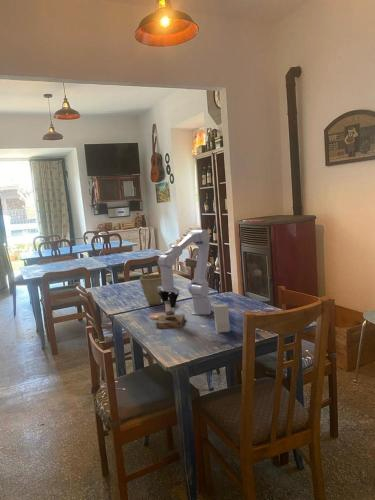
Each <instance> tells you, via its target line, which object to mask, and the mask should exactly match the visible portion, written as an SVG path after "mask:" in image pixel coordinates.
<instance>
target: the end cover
mask: <svg viewBox="0 0 375 500" xmlns="http://www.w3.org/2000/svg"><path fill="white" fill-rule="evenodd" d="M164 303H165V306H164V308H165V310H164V311H165V314H166V315H168V316H171V315H176V314H175V313H176V312H175V307H173V308H171V305H170V300H169V298H168V299H166V300H164Z"/></svg>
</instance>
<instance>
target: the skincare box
mask: <svg viewBox="0 0 375 500" xmlns="http://www.w3.org/2000/svg"><path fill="white" fill-rule="evenodd" d="M213 312H214V314H213V315H214V326H215V331H216V333H217V334H219V333H227V332H231V330H230V329H231V328H230V327H231V326H230V316H229V306H228V304H227V303H221V304H213Z"/></svg>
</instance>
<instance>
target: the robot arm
mask: <svg viewBox="0 0 375 500" xmlns="http://www.w3.org/2000/svg"><path fill="white" fill-rule="evenodd" d="M210 238H211V234H210V232H209V230H207V229H194V228H192V229H191V230H190V231H188V232H187V235H186V236H185V237H184V238H183V239H182V240H181V241H180V242H179V243H178V244H174V245H171V246H170V247H171V248H169V249H168V250H167V251H165V252H164V254H161V255H159V256H158V259H157V261H156V262H157V265H158V266H159V269H160V274H161V279H162V286H158V290H159V291H160V290H161V291H160V292H159V295H160V297H161V298H162V299H161V302H162V303H163V306H164V307H165V303H164V300H166V299H169V300H170V305H171V308H173V307H174V308H176V305H177V301H178V297H179V295H180V293H181V292H180V289H178V288H176V287H175V285H174V284H175V282H174V273H173V271H174V270H173V266H174V265H175V261H177V259H178V258H179V257H180V256H181V255H183V251H184V250H185V248H187V247H189V245H191V244H192V243H193V244H195V245H196V246H197V248H198V251H197V252H198V253H197V258H196V259H197V260H196V267H195V274H194V278H192V280H191V281H190V285H189V287H188V292H189V293H190V295H191V297H192V308H193V311H192V313H191V315H192V316H194V315H198V316H199V315H200V316H201V315H211V312H212V301H211V300H212V299H211V296H210V295H209V293H210V288H209V281H208V280H207V279H206V275H207V269H208V268H207V267H208V259H209V252H210V240H211V239H210Z"/></svg>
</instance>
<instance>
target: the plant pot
mask: <svg viewBox="0 0 375 500" xmlns="http://www.w3.org/2000/svg"><path fill="white" fill-rule="evenodd" d="M139 281H140V285H141V289H142V291H143V294H144V297H145V299H146V301H147V303H148V305H157V304H160V303H161V302H162V298H161V297H160V295H159V292H160V291H161V290H160V291H159V290H158V286H162V279H161V273H157V274H156V273H154V274H153V273H152V274H145V275H142V276H140V277H139Z"/></svg>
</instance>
